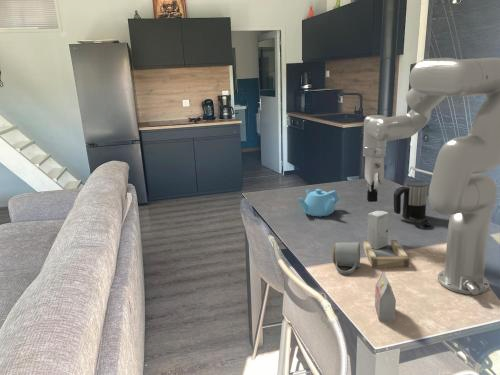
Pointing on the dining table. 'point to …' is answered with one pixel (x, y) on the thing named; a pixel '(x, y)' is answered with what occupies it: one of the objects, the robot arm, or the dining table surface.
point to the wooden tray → (386, 256)
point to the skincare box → (378, 229)
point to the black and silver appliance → (412, 201)
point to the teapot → (319, 202)
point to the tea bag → (384, 300)
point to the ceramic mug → (346, 256)
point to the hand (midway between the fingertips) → (372, 200)
